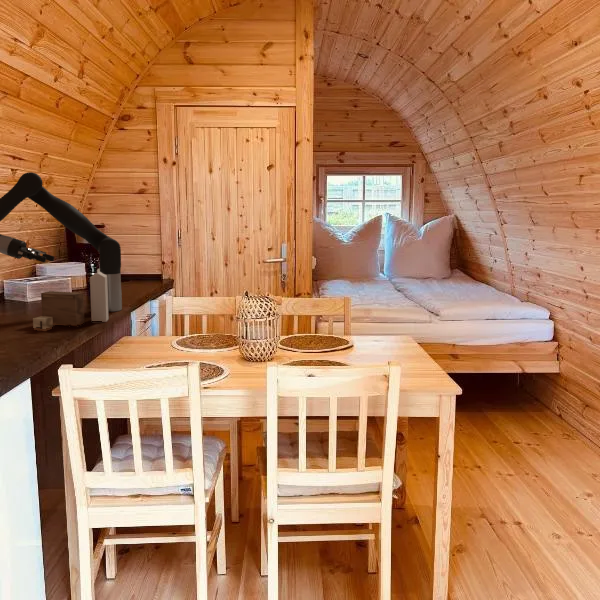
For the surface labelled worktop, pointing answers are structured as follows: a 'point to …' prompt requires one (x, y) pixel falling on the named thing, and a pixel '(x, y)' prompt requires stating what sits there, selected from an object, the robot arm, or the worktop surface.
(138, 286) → the worktop surface
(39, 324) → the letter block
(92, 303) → the milk
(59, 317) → the walnut panel
